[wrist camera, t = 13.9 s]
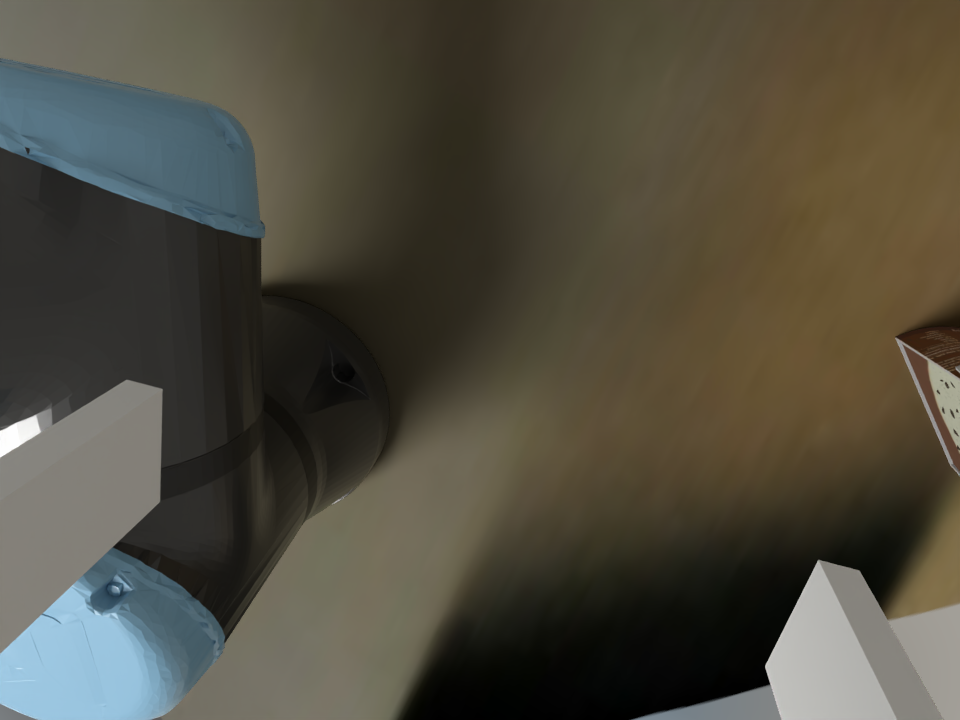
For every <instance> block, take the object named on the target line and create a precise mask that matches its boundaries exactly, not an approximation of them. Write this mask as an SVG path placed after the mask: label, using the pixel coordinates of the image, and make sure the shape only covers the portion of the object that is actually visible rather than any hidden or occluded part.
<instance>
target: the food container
mask: <svg viewBox="0 0 960 720" xmlns="http://www.w3.org/2000/svg"><path fill="white" fill-rule="evenodd" d="M895 338H896V340H897V343H898V345H899V347H900V350H901V352H902V354H903V357H904V359H905V361H906V363H907V366H908V368H909V370H910V373H911V375H912V377H913V380H914V382H915V384H916V387H917V389H918V391H919V394H920V396H921V398H922V401H923V403H924V405H925V408H926V410H927V412H928V415H929V417H930V419H931V422H932V424H933V426H934V429H935V431H936V433H937V436H938V438H939V440H940V443H941V445H942V447H943V450H944V452H945V454H946V457H947V459H948V461H949V464H950V466H951V467H952V468H953V469H954V470H955V471H956V472H957V473H958V475H959V476H960V328H957V327H930V328H923V329H919V330H914V331H910V332H907V333H905V334H902V335H899V336H896V337H895Z"/></svg>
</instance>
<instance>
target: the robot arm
mask: <svg viewBox="0 0 960 720" xmlns="http://www.w3.org/2000/svg"><path fill="white" fill-rule="evenodd" d="M263 237H265V226H264V224H263V223H262V221H261V220H260V213H259V201H258V190H257V179H256V167H255V153H254V149H253V145H252V142H251V139H250V137H249V135H248V133H247V132H246V130H245V129H244V127H243V126H242V125H241V124H240V122H239V121H238V120H237V119H236V118H235V117H233V116H232V115H231V114H230V113H228V112H227V111H225V110H223V109H222V108H220V107H218V106H215V105H213V104H210V103H206V102H203V101H199V100H196V99H192V98H188V97H183V96H179V95H175V94H170V93H166V92H162V91H157V90H153V89H148V88H143V87H139V86H134V85H130V84H125V83H120V82H115V81H110V80H105V79H101V78H96V77H91V76H87V75H82V74H77V73H73V72H68V71H63V70H58V69H53V68H48V67H43V66H38V65H33V64H28V63H23V62H18V61H13V60H8V59H3V58H0V704H2V705H4V706H7V707H8V708H10V709H13V710H15V711H17V712H20V713H22V714H25V715H27V716H30V717H32V718H35V719H38V720H152V719H153V718H157V717H159V716H162V715H165V714H166V713H168V712H169V711H170V710H172V709H173V708H174V707H175V706H176V705H177V704H178V703H179V702H180V701H181V700H182V699H183V698H184V697H185V696H186V694H187V693H188V692H189V691H190V690H191V688H192V687H193V686H194V685H195V684H196V683H197V681H198V680H199V679H200V678H201V677H202V675H203V674H204V673H205V672H206V671H207V670H208V668H209V667H210V666H211V665H213V664H214V663H215V662H216V660H217V659H218V658H219V656H220V655H221V654H222V653H223V649H224V648H225V645H224V644H225V642H226V641H227V639H228V638H229V636H230V634H231V633H232V631H233V630H234V628H235V627H236V625H237V624H238V622H239V621H240V619H241V618H242V616H243V615H244V613H245V612H246V610H247V609H248V607H249V606H250V604H251V602H252V601H253V599H254V598H255V596H256V595H257V593H258V592H259V590H260V589H261V587H262V586H263V584H264V583H265V581H266V580H267V578H268V577H269V575H270V574H271V572H272V571H273V569H274V567H275V566H276V564H277V563H278V561H279V560H280V558H281V557H282V555H283V554H284V552H285V551H286V549H287V548H288V546H289V545H290V543H291V542H292V540H293V539H294V537H295V536H296V534H297V532H298V531H299V529H300V527H301V526H302V525H303V523H304V522H305V521H306V520H308V519H309V518H311V517H312V516H314V515H316V514H317V513H319V512H321V511H322V510H324V509H325V508H327V507H328V506H330V505H332V504H334V503H336V502H338V501H340V500H342V499H343V498H345V497H346V496H348V495H349V494H350V493H351V492H352V491H354V490H355V489H356V488H357V487H358V486H359V485H360V483H361V482H362V481H363V480H364V479H365V478H366V476H367V475H368V473H369V472H370V470H371V468H372V467H373V465H374V463H375V462H376V460H377V458H378V457H379V455H380V453H381V451H382V449H383V446H384V444H385V441H386V437H387V433H388V428H389V416H390V415H389V401H388V395H387V391H386V387H385V383H384V381H383V378H382V375H381V373H380V371H379V368H378V367H377V365H376V363H375V361H374V359H373V358H372V356H371V354H370V353H369V352H368V350H367V349H366V347H365V346H364V345H363V344H362V342H361V341H360V340H359V339H358V338H357V337H356V336H355V335H354V334H353V333H352V332H351V331H350V330H349V329H348V328H347V327H346V326H344V325H343V324H342V323H341V322H339V321H338V320H337V319H335V318H334V317H332V316H331V315H329V314H327V313H326V312H324V311H322V310H320V309H318V308H316V307H314V306H312V305H309V304H307V303H304V302H301V301H298V300H294V299H290V298H285V297H278V296H262V295H261V238H263ZM765 668H766V671H767V674H768V677H769V681H770V684H771V687H772V690H773V693H774V697H775V700H776V703H777V706H778V710H779V713H780V716H781V720H944V719H943V717H942V716H941V714H940V712H939V711H938V709H937V707H936V705H935V703H934V702H933V700H932V698H931V696H930V694H929V693H928V691H927V689H926V687H925V686H924V684H923V682H922V680H921V679H920V677H919V675H918V673H917V672H916V670H915V668H914V666H913V665H912V663H911V661H910V659H909V657H908V656H907V654H906V652H905V651H904V649H903V647H902V645H901V643H900V642H899V640H898V638H897V636H896V635H895V633H894V631H893V630H892V628H891V626H890V624H889V622H888V620H887V619H886V617H885V615H884V613H883V612H882V610H881V608H880V606H879V605H878V603H877V601H876V599H875V597H874V596H873V594H872V592H871V590H870V589H869V587H868V585H867V583H866V582H865V580H864V578H863V576H862V575H861V573H860V571H859V570H855V569H851V568H847V567H843V566H839V565H836V564H832V563H828V562H824V561H820V560H818V562H817V564H816V566H815V568H814V570H813V572H812V574H811V576H810V578H809V580H808V582H807V584H806V586H805V588H804V590H803V592H802V594H801V596H800V598H799V600H798V602H797V604H796V606H795V608H794V610H793V612H792V614H791V616H790V618H789V620H788V622H787V624H786V626H785V628H784V630H783V632H782V634H781V636H780V638H779V640H778V642H777V644H776V646H775V648H774V650H773V652H772V654H771V656H770V658H769V660H768V662H767V664H766V666H765Z"/></svg>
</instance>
